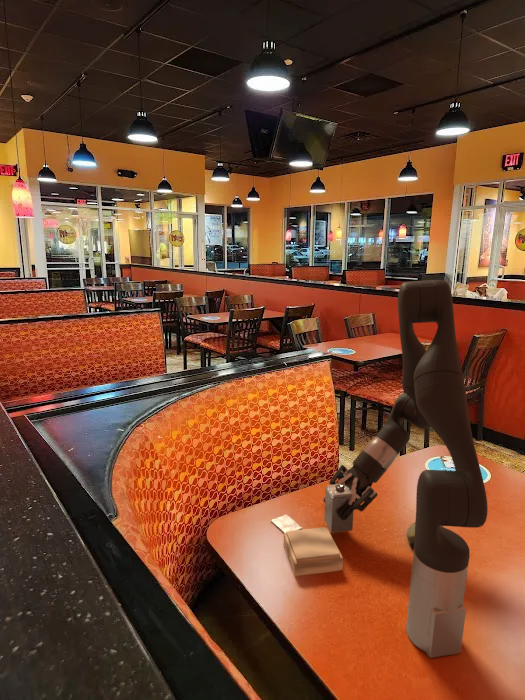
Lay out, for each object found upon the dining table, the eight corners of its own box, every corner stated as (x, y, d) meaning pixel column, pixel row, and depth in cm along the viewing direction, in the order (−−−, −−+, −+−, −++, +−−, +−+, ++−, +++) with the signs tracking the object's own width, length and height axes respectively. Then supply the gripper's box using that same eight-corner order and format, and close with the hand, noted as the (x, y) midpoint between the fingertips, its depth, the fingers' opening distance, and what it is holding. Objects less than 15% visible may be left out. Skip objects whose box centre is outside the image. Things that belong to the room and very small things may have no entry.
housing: (352, 530, 113) (354, 491, 111) (331, 532, 112) (332, 493, 110) (344, 517, 118) (346, 480, 116) (324, 520, 117) (325, 482, 115)
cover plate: (302, 531, 117) (302, 527, 117) (286, 537, 114) (286, 534, 114) (286, 517, 123) (286, 514, 123) (270, 523, 120) (270, 520, 120)
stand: (342, 570, 102) (343, 554, 101) (294, 576, 100) (295, 560, 99) (326, 539, 113) (327, 525, 112) (283, 544, 111) (283, 530, 110)
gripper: (351, 440, 120) (310, 489, 119) (384, 463, 107) (339, 519, 106) (366, 455, 123) (327, 503, 122) (401, 479, 110) (357, 534, 109)
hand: (333, 510), depth 114 cm, fingers closed on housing, 6 cm apart
